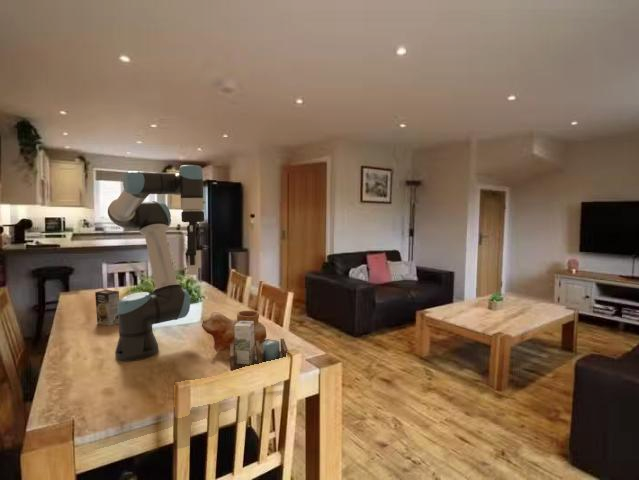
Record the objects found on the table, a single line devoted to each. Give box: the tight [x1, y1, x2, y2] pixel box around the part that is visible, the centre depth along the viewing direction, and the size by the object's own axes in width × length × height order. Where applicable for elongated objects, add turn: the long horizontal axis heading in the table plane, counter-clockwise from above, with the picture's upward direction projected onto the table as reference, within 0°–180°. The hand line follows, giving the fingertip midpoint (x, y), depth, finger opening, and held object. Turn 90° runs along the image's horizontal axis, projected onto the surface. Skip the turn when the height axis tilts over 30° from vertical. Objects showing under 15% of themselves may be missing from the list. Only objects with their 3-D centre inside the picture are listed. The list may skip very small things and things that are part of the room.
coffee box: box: [94, 289, 120, 327], centre depth 180 cm, size 9×6×16 cm
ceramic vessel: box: [201, 310, 267, 352], centre depth 149 cm, size 14×26×15 cm, turn 115°
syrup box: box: [234, 321, 256, 365], centre depth 130 cm, size 6×6×14 cm
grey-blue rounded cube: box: [262, 339, 281, 361], centre depth 133 cm, size 6×6×6 cm
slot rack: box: [229, 338, 289, 371], centre depth 132 cm, size 20×12×6 cm, turn 103°
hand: (195, 271), depth 127 cm, fingers open, 13 cm apart
